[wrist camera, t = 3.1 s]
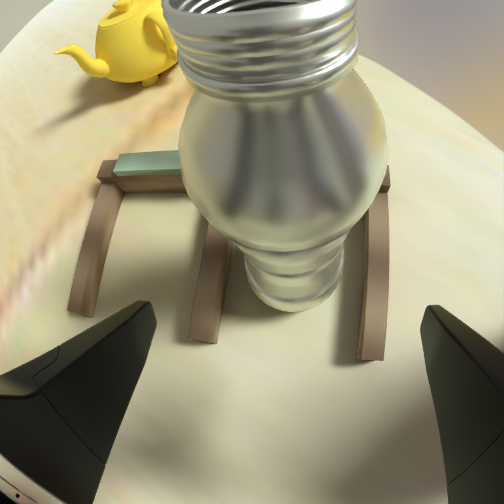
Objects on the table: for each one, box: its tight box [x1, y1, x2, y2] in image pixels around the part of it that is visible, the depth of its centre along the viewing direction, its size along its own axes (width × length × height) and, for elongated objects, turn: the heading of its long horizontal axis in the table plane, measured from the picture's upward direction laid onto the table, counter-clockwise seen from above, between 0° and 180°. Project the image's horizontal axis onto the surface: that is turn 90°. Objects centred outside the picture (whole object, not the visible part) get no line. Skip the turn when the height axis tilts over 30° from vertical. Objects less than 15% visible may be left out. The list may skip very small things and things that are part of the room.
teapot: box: [54, 0, 178, 87], centre depth 28 cm, size 20×15×12 cm
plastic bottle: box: [161, 0, 388, 312], centre depth 13 cm, size 6×7×20 cm
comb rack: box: [67, 150, 390, 361], centre depth 22 cm, size 14×24×4 cm, turn 82°
